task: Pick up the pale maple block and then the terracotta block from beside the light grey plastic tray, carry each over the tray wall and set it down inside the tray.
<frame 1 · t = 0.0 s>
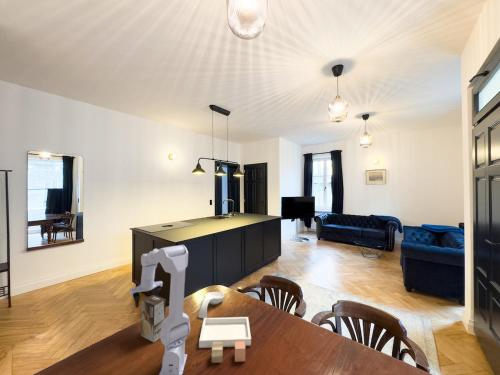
hand: (145, 303, 104), 11 cm above the table, tool pointing down, fingers open, 7 cm apart
terracotta block: (239, 357, 86), on the table
maple block: (217, 358, 85), on the table
tray: (225, 334, 99), on the table
coffee box: (152, 335, 97), on the table
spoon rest: (210, 307, 122), on the table
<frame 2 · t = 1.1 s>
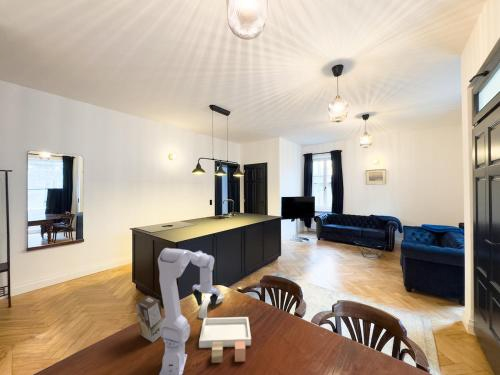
hand: (206, 306, 104), 10 cm above the table, tool pointing down, fingers open, 7 cm apart
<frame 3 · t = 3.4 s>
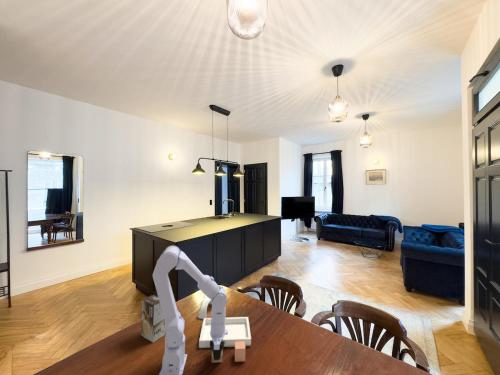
hand: (217, 354, 85), 1 cm above the table, tool pointing down, fingers closed on maple block, 4 cm apart
maple block: (217, 358, 85), on the table, touching gripper
when the fingers open (4 cm above the table, at t = 6.8 s): maple block drops 1 cm, resting on tray.
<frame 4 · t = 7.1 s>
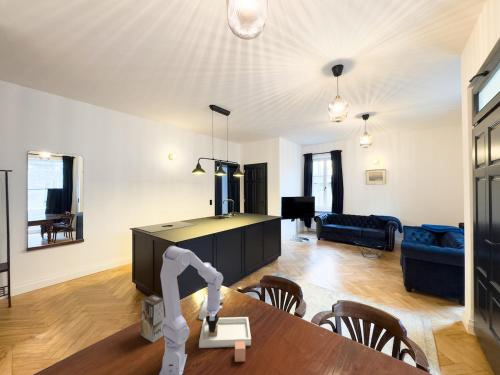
hand: (212, 327, 99), 4 cm above the table, tool pointing down, fingers open, 6 cm apart
maple block: (213, 333, 99), point 1 cm above the table, touching tray
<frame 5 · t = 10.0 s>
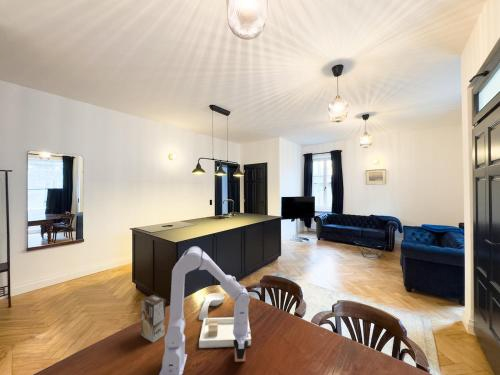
hand: (239, 353, 86), 1 cm above the table, tool pointing down, fingers closed on terracotta block, 4 cm apart
terracotta block: (239, 357, 86), on the table, touching gripper
when the fingers open (4 cm above the table, at t = 13.4 s): terracotta block drops 1 cm, resting on tray.
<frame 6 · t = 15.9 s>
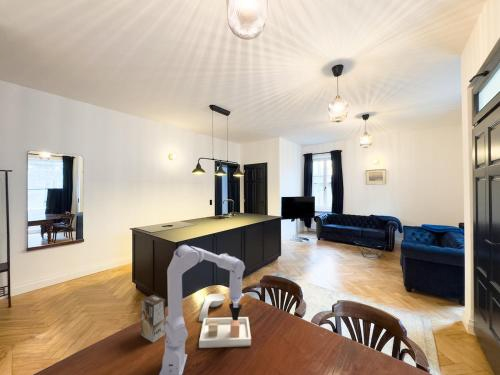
hand: (234, 314, 99), 9 cm above the table, tool pointing down, fingers open, 7 cm apart
terracotta block: (234, 334, 98), point 1 cm above the table, touching tray
at the end: maple block inside the target area on the tray (5.8 cm from its centre), point 0.6 cm above the tray's base; terracotta block inside the target area on the tray (4.2 cm from its centre), point 0.6 cm above the tray's base; the gripper is holding nothing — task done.
